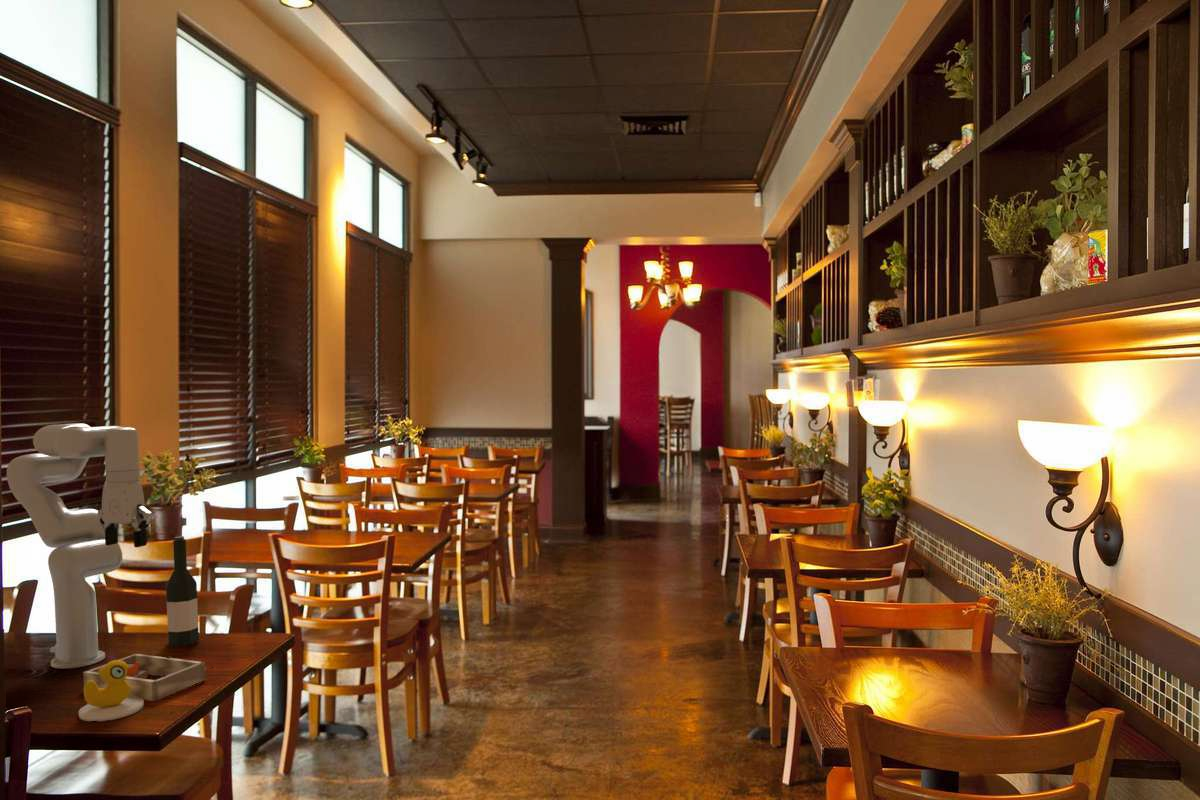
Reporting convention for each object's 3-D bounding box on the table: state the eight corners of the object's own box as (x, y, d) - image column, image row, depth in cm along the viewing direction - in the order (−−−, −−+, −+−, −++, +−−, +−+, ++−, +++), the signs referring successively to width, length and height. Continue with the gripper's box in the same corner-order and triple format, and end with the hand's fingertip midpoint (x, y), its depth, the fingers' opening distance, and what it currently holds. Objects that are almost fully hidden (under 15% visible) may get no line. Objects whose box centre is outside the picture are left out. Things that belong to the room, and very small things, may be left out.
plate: (65, 717, 204) (64, 712, 204) (115, 697, 216) (115, 692, 216) (107, 724, 199) (107, 719, 199) (156, 703, 211) (156, 698, 211)
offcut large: (102, 690, 223) (102, 681, 222) (130, 678, 231) (130, 669, 231) (119, 692, 221) (119, 683, 221) (147, 679, 230) (146, 670, 230)
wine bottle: (174, 639, 263) (169, 535, 262) (204, 637, 264) (199, 533, 263) (162, 647, 255) (158, 540, 254) (193, 646, 256) (189, 539, 254)
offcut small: (109, 680, 223) (109, 671, 223) (124, 672, 229) (124, 664, 229) (124, 680, 223) (124, 671, 223) (139, 672, 229) (139, 664, 229)
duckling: (139, 696, 213) (137, 653, 213) (142, 702, 209) (140, 659, 208) (83, 707, 207) (81, 663, 207) (85, 714, 202) (83, 669, 202)
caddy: (84, 690, 221) (83, 672, 221) (136, 671, 235) (135, 653, 235) (155, 701, 213) (154, 682, 212) (205, 680, 227) (204, 662, 226)
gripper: (84, 478, 228) (87, 546, 229) (136, 479, 222) (139, 550, 222) (110, 474, 235) (113, 541, 236) (161, 476, 229) (164, 544, 229)
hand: (126, 545), depth 229 cm, fingers open, 9 cm apart
